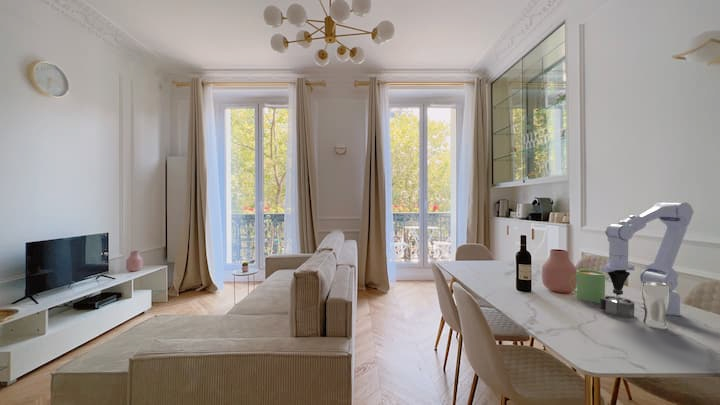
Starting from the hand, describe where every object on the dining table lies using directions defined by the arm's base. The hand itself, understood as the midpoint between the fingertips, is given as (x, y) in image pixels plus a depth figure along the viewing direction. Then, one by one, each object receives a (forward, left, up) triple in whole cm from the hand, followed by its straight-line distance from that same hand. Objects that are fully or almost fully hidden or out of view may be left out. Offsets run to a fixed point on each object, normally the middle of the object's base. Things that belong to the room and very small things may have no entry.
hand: (617, 289), depth 120 cm
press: (0, 0, -9) cm, 9 cm away
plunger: (0, 0, -5) cm, 5 cm away
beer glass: (-7, +10, -10) cm, 16 cm away
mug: (+5, -17, -10) cm, 20 cm away
